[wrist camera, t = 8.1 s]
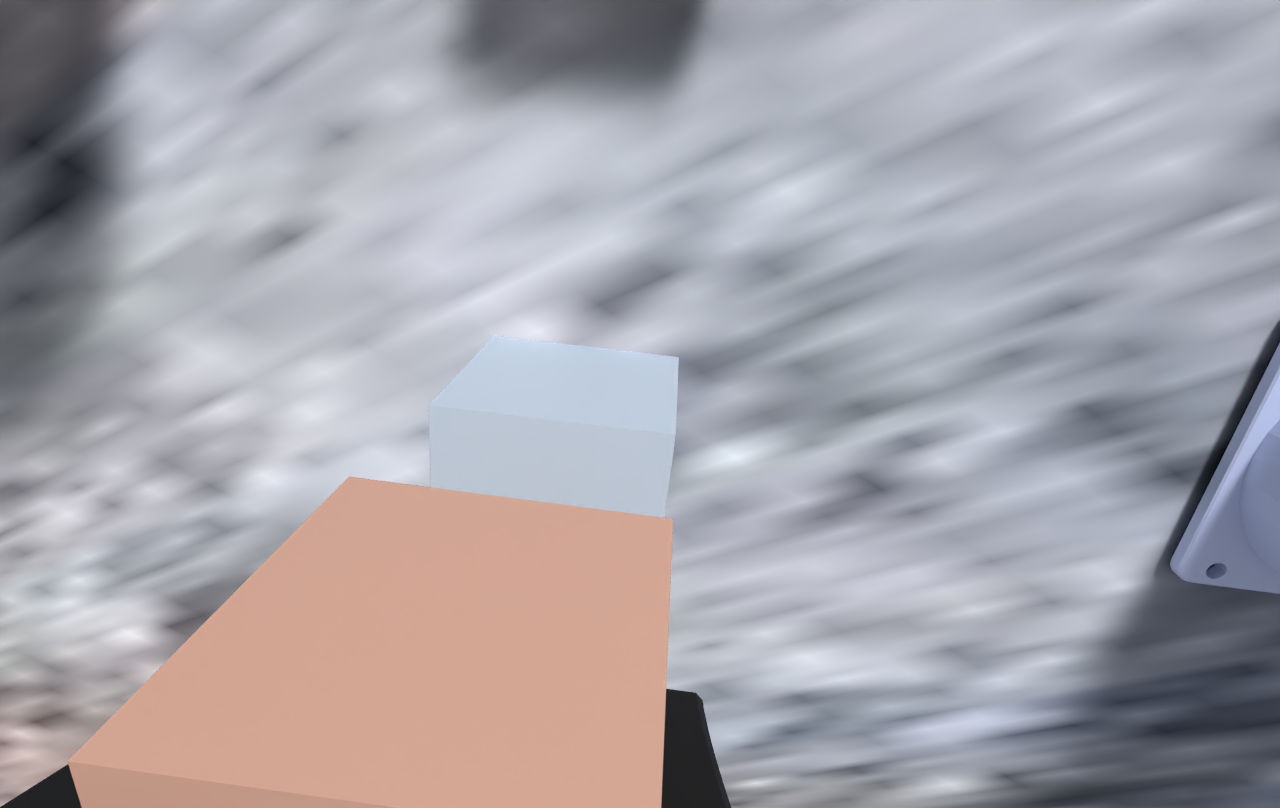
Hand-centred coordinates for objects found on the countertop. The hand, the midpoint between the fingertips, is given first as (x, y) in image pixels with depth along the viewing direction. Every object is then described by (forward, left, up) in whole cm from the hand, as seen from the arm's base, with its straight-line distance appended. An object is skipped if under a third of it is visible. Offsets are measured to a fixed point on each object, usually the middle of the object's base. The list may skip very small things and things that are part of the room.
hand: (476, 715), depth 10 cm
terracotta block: (0, 0, -2) cm, 2 cm away
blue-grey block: (0, 0, -10) cm, 10 cm away
